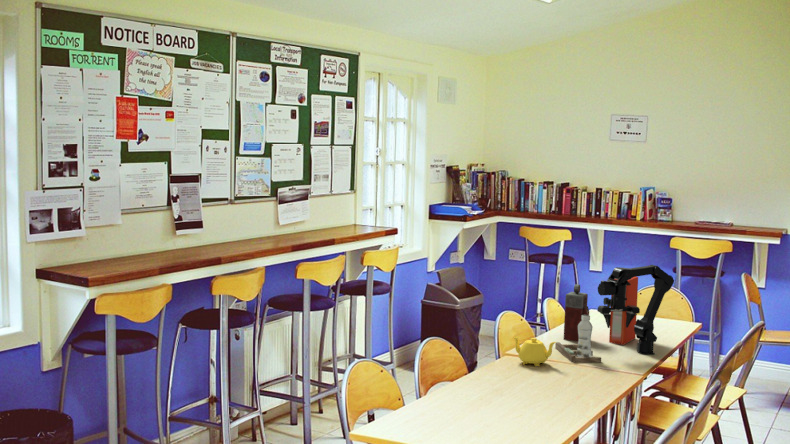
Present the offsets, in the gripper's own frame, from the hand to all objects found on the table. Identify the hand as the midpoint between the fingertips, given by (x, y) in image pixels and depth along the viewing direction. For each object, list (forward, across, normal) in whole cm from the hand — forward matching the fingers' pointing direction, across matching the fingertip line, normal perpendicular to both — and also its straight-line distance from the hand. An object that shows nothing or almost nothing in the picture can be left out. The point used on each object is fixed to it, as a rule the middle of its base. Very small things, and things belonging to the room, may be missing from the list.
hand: (617, 327), depth 364 cm
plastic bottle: (+13, +18, +5) cm, 23 cm away
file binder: (+13, -16, -27) cm, 34 cm away
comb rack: (+13, +18, -1) cm, 22 cm away
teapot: (+13, +45, +10) cm, 48 cm away
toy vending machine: (+13, +6, -31) cm, 34 cm away
